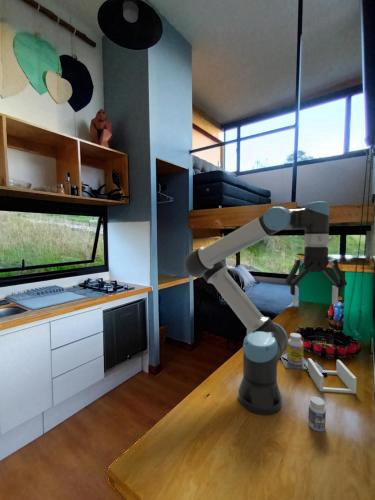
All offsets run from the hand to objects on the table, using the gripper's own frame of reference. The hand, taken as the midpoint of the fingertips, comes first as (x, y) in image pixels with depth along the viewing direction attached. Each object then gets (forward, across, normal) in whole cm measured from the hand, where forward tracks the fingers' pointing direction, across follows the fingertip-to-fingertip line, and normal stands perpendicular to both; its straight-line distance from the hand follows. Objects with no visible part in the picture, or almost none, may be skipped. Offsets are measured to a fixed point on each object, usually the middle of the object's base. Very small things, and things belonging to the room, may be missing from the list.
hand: (314, 304), depth 88 cm
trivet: (+35, 0, +22) cm, 41 cm away
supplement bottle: (+34, 0, +22) cm, 41 cm away
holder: (+35, +10, +9) cm, 37 cm away
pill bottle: (+35, -4, -15) cm, 38 cm away
